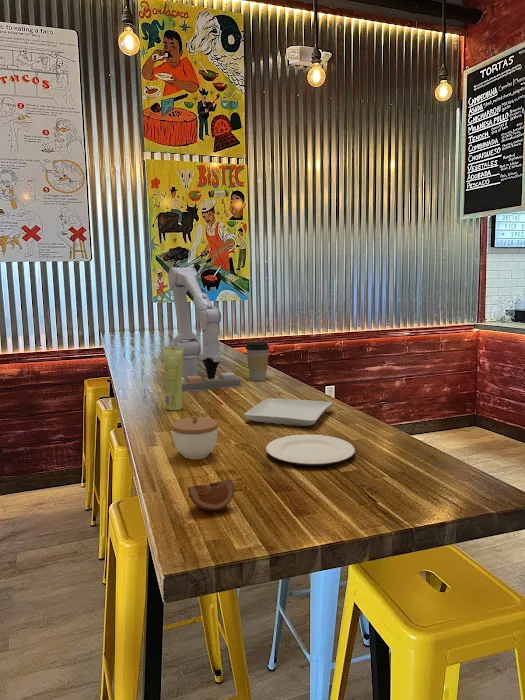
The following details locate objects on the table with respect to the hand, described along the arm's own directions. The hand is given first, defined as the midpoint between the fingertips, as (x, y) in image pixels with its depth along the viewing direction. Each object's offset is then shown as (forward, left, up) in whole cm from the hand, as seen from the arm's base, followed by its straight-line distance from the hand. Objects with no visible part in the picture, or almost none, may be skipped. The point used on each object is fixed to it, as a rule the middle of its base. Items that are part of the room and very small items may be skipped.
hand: (211, 378), depth 198 cm
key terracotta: (0, -6, -1) cm, 6 cm away
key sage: (0, 0, -2) cm, 2 cm away
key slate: (0, +6, -1) cm, 6 cm away
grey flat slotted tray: (0, -3, -4) cm, 5 cm away
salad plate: (+47, +10, -4) cm, 48 cm away
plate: (+78, +1, -4) cm, 78 cm away
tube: (+24, -19, -4) cm, 31 cm away
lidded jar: (+68, -24, -4) cm, 72 cm away
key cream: (0, -13, -1) cm, 13 cm away
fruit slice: (+97, -29, -4) cm, 101 cm away
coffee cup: (-4, +20, -4) cm, 21 cm away
